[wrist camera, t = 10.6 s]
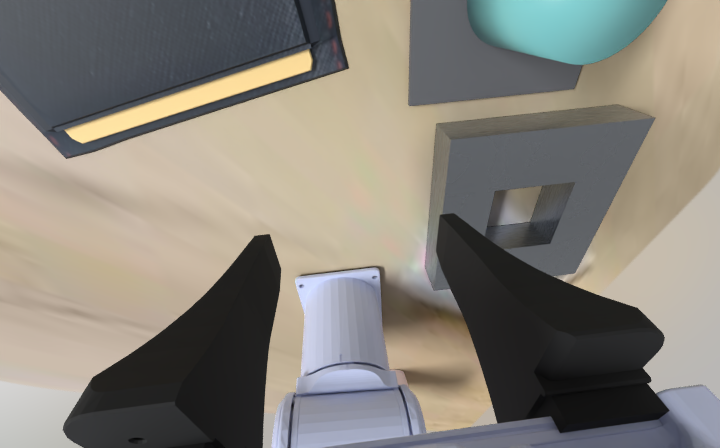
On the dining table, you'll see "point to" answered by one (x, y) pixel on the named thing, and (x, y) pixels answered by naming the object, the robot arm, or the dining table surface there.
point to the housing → (534, 179)
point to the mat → (471, 60)
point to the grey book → (154, 61)
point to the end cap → (562, 26)
